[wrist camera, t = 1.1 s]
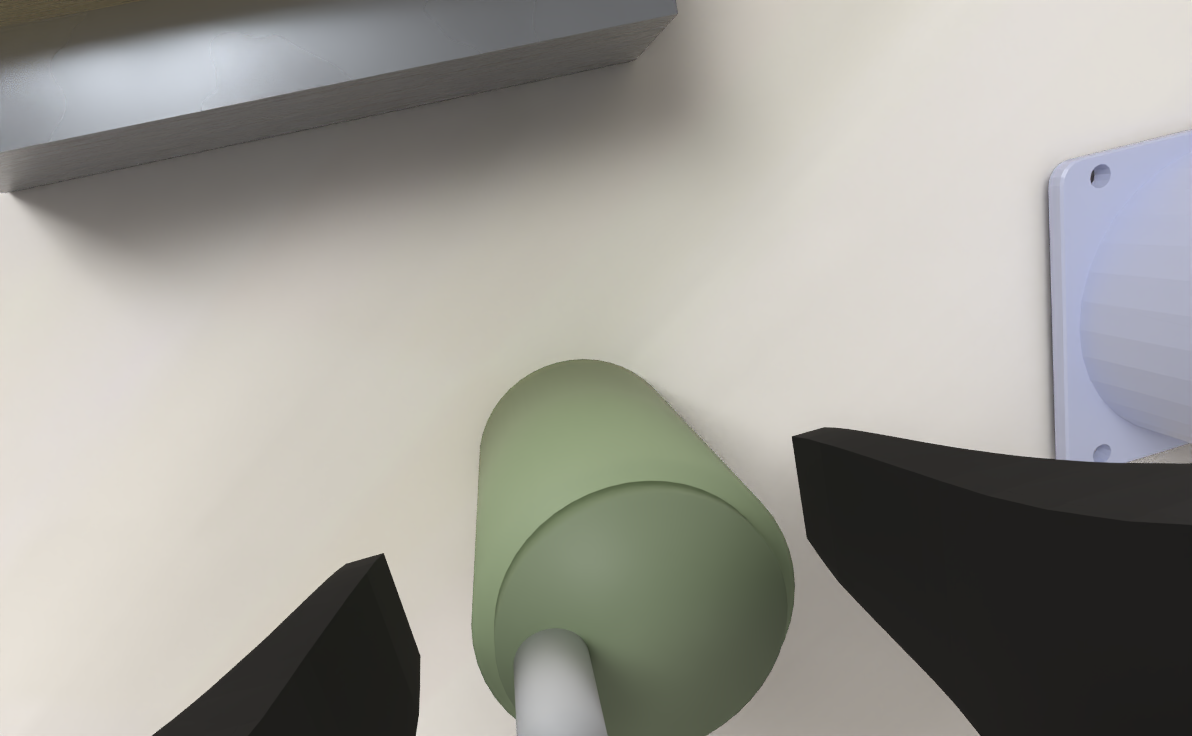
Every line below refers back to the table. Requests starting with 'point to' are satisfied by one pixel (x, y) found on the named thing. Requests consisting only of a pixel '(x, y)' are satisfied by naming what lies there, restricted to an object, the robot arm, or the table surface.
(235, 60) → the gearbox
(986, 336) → the table surface
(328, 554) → the table surface
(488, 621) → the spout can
